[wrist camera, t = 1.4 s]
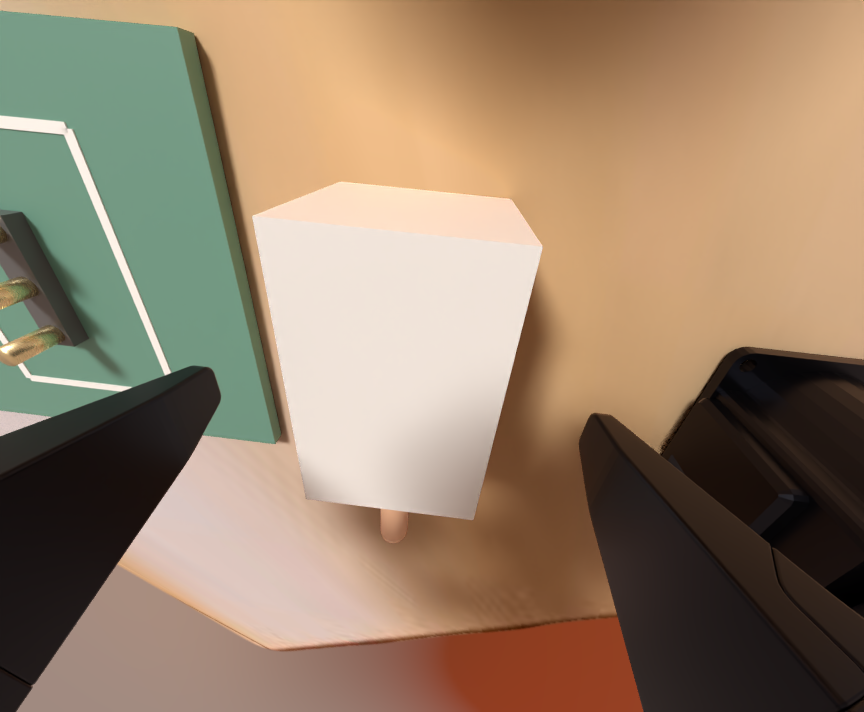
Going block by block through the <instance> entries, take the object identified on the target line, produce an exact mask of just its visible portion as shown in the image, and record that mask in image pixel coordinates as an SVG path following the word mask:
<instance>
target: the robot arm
mask: <svg viewBox="0 0 864 712" xmlns="http://www.w3.org/2000/svg"><path fill="white" fill-rule="evenodd" d="M746 360H747V361H746ZM744 361H746V362H745V363H744V364H742V363H743V362H744ZM220 401H221V392H220V389H219V386H218V383H217V379H216V376H215V373H214V371H213V370H212V369H211V368H209V367H205V366H196V365H193V366H189V367H186V368H183V369H181V370H178V371H175V372H173V373H170V374H167V375H164V376H162V377H159V378H156V379H154V380H151V381H148V382H146V383H143V384H140V385H138V386H135V387H132V388H129V389H127V390H124V391H121V392H119V393H116V394H113V395H111V396H108V397H105V398H103V399H100V400H97V401H94V402H92V403H89V404H86V405H84V406H81V407H78V408H76V409H73V410H70V411H67V412H65V413H62V414H59V415H57V416H54V417H51V418H49V419H46V420H43V421H41V422H38V423H35V424H32V425H30V426H27V427H24V428H22V429H19V430H16V431H14V432H11V433H8V434H5V435H3V436H0V712H16V711H17V710H18V708H19V707H20V705H21V704H22V702H23V701H24V699H25V698H26V697H27V695H28V694H29V692H30V691H31V689H32V687H33V686H32V685H33V684H35V683H36V681H37V680H38V678H39V677H40V676H41V674H42V673H43V671H44V670H45V668H46V667H47V665H48V664H49V663H50V661H51V660H52V658H53V657H54V655H55V654H56V652H57V651H58V649H59V648H60V647H61V645H62V644H63V642H64V641H65V639H66V638H67V636H68V635H69V633H70V632H71V631H72V629H73V627H74V626H75V625H76V623H77V622H78V620H79V619H80V617H81V616H82V615H83V613H84V612H85V610H86V609H87V607H88V606H89V604H90V603H91V601H92V600H93V599H94V597H95V596H96V594H97V593H98V591H99V590H100V588H101V587H102V585H103V584H104V583H105V581H106V580H107V578H108V577H109V575H110V574H111V572H112V571H113V569H114V568H115V567H116V565H117V564H118V562H119V561H120V559H121V558H122V556H123V555H124V553H125V552H126V550H127V549H128V548H129V546H130V545H131V543H132V542H133V540H134V539H135V537H136V536H137V534H138V533H139V532H140V530H141V529H142V527H143V526H144V524H145V523H146V521H147V520H148V518H149V517H150V516H151V514H152V513H153V511H154V510H155V508H156V507H157V505H158V504H159V502H160V501H161V500H162V498H163V497H164V495H165V494H166V492H167V491H168V489H169V488H170V486H171V485H172V484H173V482H174V481H175V479H176V478H177V476H178V475H179V473H180V472H181V470H182V469H183V468H184V466H185V464H186V463H187V461H188V460H189V458H190V457H191V455H192V453H193V451H194V450H195V448H196V446H197V444H198V443H199V441H200V439H201V437H202V435H203V433H204V432H205V430H206V428H207V426H208V424H209V422H210V421H211V419H212V417H213V415H214V413H215V411H216V410H217V408H218V406H219V404H220ZM579 450H580V457H581V463H582V470H583V476H584V483H585V489H586V496H587V502H588V507H589V512H590V516H591V520H592V524H593V527H594V531H595V535H596V538H597V542H598V546H599V549H600V553H601V557H602V560H603V564H604V568H605V571H606V575H607V579H608V582H609V586H610V590H611V593H612V597H613V601H614V605H615V608H616V612H617V616H618V619H619V622H620V626H621V630H622V634H623V638H624V641H625V645H626V649H627V652H628V656H629V660H630V663H631V667H632V671H633V674H634V678H635V682H636V685H637V689H638V692H639V696H640V700H641V704H642V707H643V711H644V712H864V360H862V359H853V358H844V357H835V356H826V355H817V354H808V353H799V352H790V351H781V350H772V349H763V348H754V347H741V348H738V349H735V350H734V351H732V352H730V353H729V354H728V355H727V356H726V357H725V359H724V361H723V362H722V364H721V365H720V367H719V368H718V370H717V371H716V373H715V374H714V376H713V377H712V379H711V380H710V382H709V384H708V385H707V387H706V388H705V390H704V391H703V393H702V394H701V396H700V397H699V399H698V400H697V402H696V403H695V405H694V407H693V408H692V410H691V411H690V413H689V414H688V416H687V417H686V419H685V420H684V422H683V423H682V425H681V426H680V428H679V430H678V431H677V433H676V434H675V436H674V437H673V439H672V440H671V442H670V443H669V445H668V446H667V448H666V449H665V451H664V453H663V454H662V456H661V455H660V454H658V453H657V452H656V451H655V450H654V449H652V448H651V447H650V446H649V445H647V444H646V443H645V442H644V441H642V440H641V439H640V438H639V437H638V436H636V435H635V434H634V433H633V432H631V431H630V430H629V429H628V428H627V427H625V426H624V425H623V424H622V423H620V422H619V421H618V420H617V419H615V418H614V417H613V416H611V415H608V414H600V413H593V414H591V415H590V417H589V418H588V421H587V423H586V425H585V427H584V430H583V432H582V434H581V436H580V440H579Z"/></svg>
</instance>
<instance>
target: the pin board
mask: <svg viewBox="0 0 864 712" xmlns="http://www.w3.org/2000/svg"><path fill="white" fill-rule="evenodd" d="M193 365H196V366H205V367H209V368H211V369H212V370H213V371H214V373H215V376H216V379H217V383H218V386H219V389H220V392H221V401H220V404H219V406H218V408H217V410H216V411H215V413H214V415H213V417H212V419H211V421H210V422H209V424H208V426H207V428H206V430H205V432H204V433H203V435H205V436H213V437H222V438H230V439H238V440H246V441H254V442H262V443H271V444H276V442H277V441H278V439H279V437H280V436H281V431H280V426H279V422H278V417H277V413H276V408H275V403H274V399H273V394H272V390H271V385H270V381H269V376H268V371H267V367H266V362H265V358H264V353H263V348H262V344H261V339H260V335H259V330H258V326H257V321H256V316H255V312H254V307H253V303H252V298H251V293H250V289H249V284H248V280H247V275H246V271H245V266H244V261H243V257H242V252H241V248H240V243H239V238H238V234H237V229H236V225H235V220H234V216H233V211H232V206H231V202H230V197H229V193H228V188H227V183H226V179H225V174H224V170H223V165H222V161H221V156H220V151H219V147H218V142H217V138H216V133H215V128H214V124H213V119H212V115H211V110H210V106H209V101H208V96H207V92H206V87H205V83H204V78H203V73H202V69H201V64H200V60H199V55H198V51H197V46H196V41H195V37H194V33H192V32H189V31H186V30H183V29H181V28H178V27H170V26H159V25H149V24H138V23H127V22H116V21H105V20H94V19H83V18H73V17H62V16H51V15H40V14H29V13H18V12H7V11H0V410H1V411H10V412H18V413H26V414H34V415H42V416H50V417H54V416H57V415H59V414H62V413H65V412H67V411H70V410H73V409H76V408H78V407H81V406H84V405H86V404H89V403H92V402H94V401H97V400H100V399H103V398H105V397H108V396H111V395H113V394H116V393H119V392H121V391H124V390H127V389H129V388H132V387H135V386H138V385H140V384H143V383H146V382H148V381H151V380H154V379H156V378H159V377H162V376H164V375H167V374H170V373H173V372H175V371H178V370H181V369H183V368H186V367H189V366H193Z"/></svg>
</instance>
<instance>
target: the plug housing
mask: <svg viewBox="0 0 864 712" xmlns="http://www.w3.org/2000/svg"><path fill="white" fill-rule="evenodd" d="M252 218H253V223H254V228H255V234H256V239H257V244H258V249H259V255H260V260H261V265H262V270H263V276H264V281H265V286H266V291H267V297H268V302H269V307H270V312H271V318H272V323H273V328H274V333H275V339H276V344H277V349H278V354H279V360H280V365H281V370H282V375H283V381H284V386H285V391H286V396H287V401H288V407H289V412H290V417H291V422H292V428H293V433H294V438H295V443H296V449H297V454H298V459H299V464H300V470H301V475H302V480H303V485H304V491H305V496H306V499H309V500H317V501H325V502H333V503H341V504H349V505H357V506H365V507H373V508H380V509H381V535H382V537H383V538H384V539H385V540H386V541H387V542H389V543H398V542H400V541H401V540H402V539H403V538H404V537H405V536H406V533H407V529H408V515H409V512H412V513H420V514H428V515H436V516H444V517H452V518H460V519H467V520H474V516H475V512H476V508H477V504H478V500H479V496H480V492H481V488H482V484H483V480H484V476H485V473H486V469H487V465H488V461H489V457H490V453H491V449H492V445H493V441H494V437H495V433H496V429H497V425H498V421H499V417H500V414H501V410H502V406H503V402H504V398H505V394H506V390H507V386H508V382H509V378H510V374H511V370H512V366H513V362H514V358H515V355H516V351H517V347H518V343H519V339H520V335H521V331H522V327H523V323H524V319H525V315H526V311H527V307H528V303H529V299H530V296H531V292H532V288H533V284H534V280H535V276H536V272H537V268H538V264H539V260H540V256H541V252H542V248H543V246H542V245H541V243H540V242H539V240H538V239H537V237H536V236H535V234H534V233H533V231H532V230H531V228H530V227H529V225H528V224H527V222H526V221H525V219H524V218H523V216H522V215H521V213H520V212H519V210H518V209H517V207H516V206H515V204H514V203H513V201H512V200H511V199H507V198H497V197H487V196H478V195H468V194H458V193H448V192H439V191H429V190H419V189H409V188H400V187H390V186H380V185H370V184H360V183H351V182H341V181H340V182H338V183H335V184H333V185H330V186H328V187H325V188H322V189H320V190H317V191H315V192H312V193H310V194H307V195H304V196H302V197H299V198H297V199H294V200H292V201H289V202H287V203H284V204H281V205H279V206H276V207H274V208H271V209H269V210H266V211H264V212H261V213H258V214H256V215H253V216H252Z"/></svg>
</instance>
